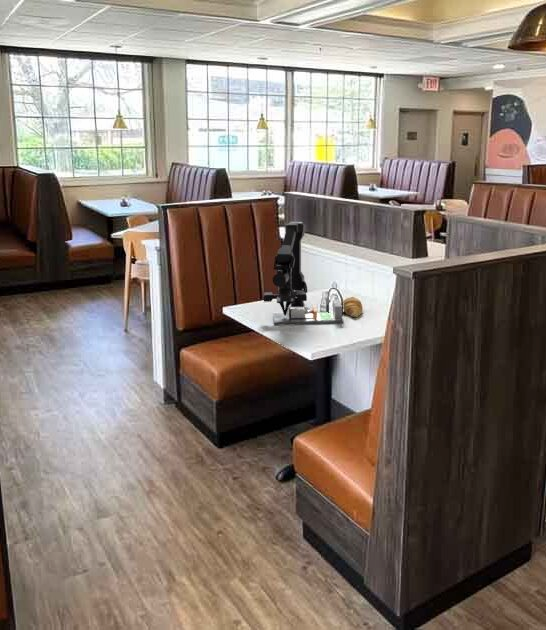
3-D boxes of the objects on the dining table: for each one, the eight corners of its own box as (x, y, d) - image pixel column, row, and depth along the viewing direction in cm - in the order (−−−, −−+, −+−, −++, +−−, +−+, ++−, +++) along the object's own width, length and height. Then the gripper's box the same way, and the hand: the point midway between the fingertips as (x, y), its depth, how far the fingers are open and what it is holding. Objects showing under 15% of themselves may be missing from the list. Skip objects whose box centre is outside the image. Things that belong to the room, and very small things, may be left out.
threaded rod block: (288, 315, 279) (288, 307, 278) (313, 314, 279) (313, 306, 278) (289, 318, 274) (289, 310, 273) (313, 317, 275) (313, 309, 274)
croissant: (361, 326, 278) (370, 310, 276) (341, 316, 276) (350, 301, 274) (352, 311, 299) (360, 296, 296) (334, 302, 296) (342, 287, 294)
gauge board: (273, 316, 283) (273, 300, 281) (339, 314, 284) (339, 299, 282) (274, 325, 271) (273, 309, 269) (343, 323, 271) (343, 307, 269)
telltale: (312, 313, 280) (312, 306, 279) (315, 313, 280) (315, 306, 279) (314, 318, 273) (314, 311, 273) (316, 318, 274) (316, 311, 273)
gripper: (263, 286, 264) (263, 321, 269) (307, 285, 264) (307, 320, 269) (263, 279, 275) (263, 313, 279) (305, 278, 275) (305, 313, 280)
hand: (285, 315), depth 277 cm, fingers closed
